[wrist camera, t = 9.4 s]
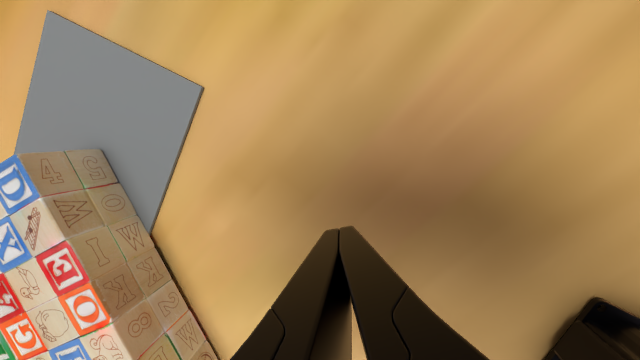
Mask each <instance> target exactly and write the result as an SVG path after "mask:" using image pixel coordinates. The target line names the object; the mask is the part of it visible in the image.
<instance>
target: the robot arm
mask: <svg viewBox="0 0 640 360" xmlns="http://www.w3.org/2000/svg"><path fill="white" fill-rule="evenodd" d="M351 301H352V305H353V309H354V313H355V317H356V320H357V324H358V328H359V332H360V336H361V339H362V343H363V347H364V351H365V355H366V359H367V360H489V359H488V358H487V357H486V356H485V355H484V354H482V353H481V352H480V351H479V350H478V349H476V348H475V347H474V346H473V345H472V344H470V343H469V342H468V341H467V340H466V339H464V338H463V337H462V336H461V335H460V334H458V333H457V332H456V331H455V330H454V329H452V328H451V327H450V326H449V325H448V324H447V323H445V322H444V321H443V320H442V319H441V318H440V317H439V316H438V315H436V314H435V313H434V312H433V311H432V310H431V309H430V308H429V307H428V306H427V305H426V304H425V303H424V302H423V301H422V300H421V299H420V298H419V297H418V296H417V295H416V294H415V293H414V291H413V290H412V289H411V288H409V286H408V285H407V284H406V283H405V282H404V281H403V280H402V279H401V278H400V277H399V275H398V274H397V273H396V272H395V271H394V270H393V269H392V268H391V267H390V266H389V265H388V264H387V262H386V261H385V260H384V259H383V258H382V257H381V256H380V255H379V254H378V253H377V252H376V251H375V249H374V248H373V247H372V246H371V245H370V244H369V243H368V242H367V241H366V240H365V239H364V238H363V236H362V235H361V234H360V233H359V232H358V231H357V230H356V229H355V228H354V227H353V226H348V227H342V228H340V229H331V230H326V231H325V232H324V233H323V235H322V236H321V237H320V239H319V240H318V242H317V243H316V244H315V246H314V247H313V249H312V250H311V251H310V253H309V254H308V256H307V257H306V258H305V260H304V261H303V263H302V264H301V266H300V267H299V268H298V270H297V271H296V273H295V274H294V275H293V277H292V278H291V280H290V281H289V282H288V284H287V285H286V287H285V288H284V289H283V291H282V292H281V294H280V295H279V296H278V298H277V299H276V301H275V302H274V303H273V305H272V306H271V309H269V310H268V312H267V313H266V315H265V316H264V317H263V319H262V320H261V321H260V323H259V324H258V325H257V327H256V328H255V329H254V331H253V332H252V333H251V335H250V336H249V337H248V339H247V340H246V341H245V342H244V343H243V345H242V346H241V347H240V348H239V349H238V351H237V352H236V353H235V354H234V355H233V357H232V358H231V359H230V360H352V308H351ZM599 305H602V306H601V307H600V308H598V306H599ZM597 308H598V309H597ZM545 360H640V318H639V317H637V316H635V315H633V314H631V313H629V312H627V311H625V310H623V309H621V308H619V307H617V306H615V305H613V304H611V303H609V302H607V301H605V300H603V299H600V298H595V299H592V300H591V301H590V302H589V304H588V305H587V306H586V307H585V309H584V310H583V311H582V312H581V314H580V315H579V316H578V318H577V319H576V320H575V321H574V323H573V324H572V325H571V326H570V328H569V329H568V330H567V332H566V333H565V334H564V335H563V337H562V338H561V339H560V340H559V342H558V343H557V344H556V346H555V347H554V348H553V349H552V351H551V352H550V353H549V354H548V356H547V357H546V358H545Z"/></svg>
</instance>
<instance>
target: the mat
mask: <svg viewBox="0 0 640 360" xmlns="http://www.w3.org/2000/svg"><path fill="white" fill-rule="evenodd" d="M203 89H204V87H202V86H200V85H198V84H196V83H194V82H192V81H190V80H188V79H186V78H184V77H182V76H180V75H178V74H176V73H174V72H172V71H170V70H168V69H166V68H164V67H162V66H160V65H158V64H156V63H154V62H152V61H150V60H148V59H146V58H144V57H142V56H140V55H138V54H135V53H133V52H131V51H129V50H127V49H125V48H123V47H121V46H119V45H117V44H115V43H113V42H111V41H109V40H107V39H105V38H103V37H101V36H99V35H97V34H95V33H93V32H91V31H89V30H87V29H85V28H83V27H81V26H79V25H77V24H75V23H73V22H71V21H69V20H67V19H65V18H63V17H61V16H59V15H57V14H55V13H53V12H51V11H49V10H47V14H46V18H45V22H44V27H43V31H42V35H41V40H40V44H39V48H38V53H37V57H36V61H35V66H34V70H33V74H32V78H31V83H30V87H29V91H28V96H27V100H26V104H25V109H24V113H23V117H22V121H21V126H20V130H19V134H18V139H17V143H16V147H15V152H14V155H15V154H23V153H38V152H56V151H68V150H87V149H100V150H101V151H102V152H103V154H104V156H105V158H106V160H107V162H108V164H109V165H110V167H111V169H112V171H113V173H114V175H115V177H116V179H117V180H118V183H120V184H121V186H122V187H123V189H124V191H125V193H126V194H127V196H128V198H129V200H130V202H131V203H132V205H133V207H134V209H135V211H136V215H137V216H138V217H139V218H140V220H141V222H142V224H143V225H144V227H145V229H146V231H147V233H148V234H149V236H150V234H151V232H152V229H153V226H154V223H155V221H156V218H157V215H158V212H159V210H160V207H161V204H162V201H163V199H164V196H165V193H166V190H167V188H168V185H169V182H170V180H171V177H172V174H173V171H174V169H175V166H176V163H177V160H178V158H179V155H180V152H181V149H182V147H183V144H184V141H185V138H186V136H187V133H188V130H189V127H190V125H191V122H192V119H193V116H194V114H195V111H196V108H197V106H198V103H199V100H200V97H201V95H202V92H203Z"/></svg>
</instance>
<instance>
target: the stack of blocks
mask: <svg viewBox="0 0 640 360" xmlns="http://www.w3.org/2000/svg"><path fill="white" fill-rule="evenodd" d="M0 360H218V359H217V357H216V355H215V353H214V352H213V350H212V348H211V346H210V344H209V343H208V342H207V340H206V338H205V336H204V334H203V332H202V331H201V329H200V327H199V325H198V323H197V322H196V320H195V318H194V316H193V315H192V313H191V311H190V310H188V307H187V305H186V303H185V301H184V300H183V298H182V296H181V294H180V293H179V291H178V289H177V287H176V285H175V283H174V281H173V280H172V279H171V276H170V274H169V272H168V270H167V268H166V267H165V265H164V263H163V261H162V259H161V257H160V256H159V254H158V252H157V250H156V249H155V248H154V243H153V242H152V240H151V238H150V236H149V234H148V233H147V231H146V229H145V227H144V225H143V224H142V222H141V220H140V218H139V217H138V216H137V215H136V211H135V209H134V207H133V205H132V203H131V202H130V200H129V198H128V196H127V194H126V193H125V191H124V189H123V187H122V186H121V184H120V183H118V180H117V179H116V177H115V175H114V173H113V171H112V169H111V167H110V165H109V164H108V162H107V160H106V158H105V156H104V154H103V152H102V151H101V150H100V149H87V150H68V151H56V152H38V153H23V154H15V155H13V156H11V157H10V158H8V159H6V160H5V161H3V162H2V163H0Z"/></svg>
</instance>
